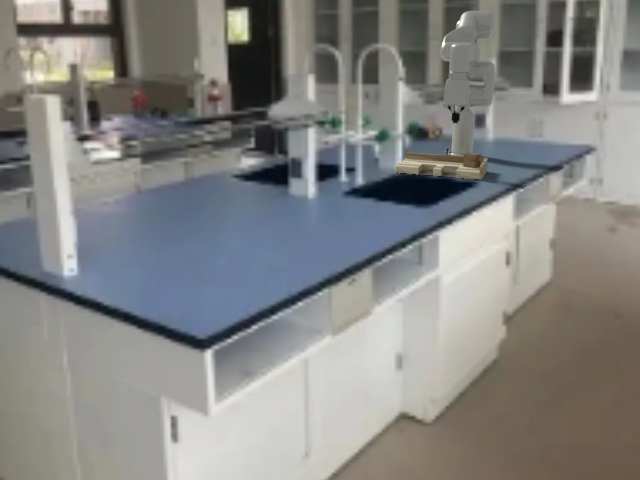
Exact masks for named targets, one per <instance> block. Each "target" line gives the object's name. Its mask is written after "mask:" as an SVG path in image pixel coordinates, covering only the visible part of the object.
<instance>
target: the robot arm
mask: <svg viewBox="0 0 640 480" xmlns="http://www.w3.org/2000/svg"><path fill="white" fill-rule="evenodd" d="M496 20H497V19H496V17H495V15H494V13H493V12H492V11H490V10H468V11H465V12H463V13H462V14H461V16H460V18H459V20H458V21H457V22H456V25H455V29H453V30H452V31H450V32H448V33H447V34H446V35H444V37H443V40H442V43H441V46H440V52H439V53H440V58H441V59H442V61H444V62H449V69H448V78H447V79H446V81H445V86H444V94H443V104H442V107H443V108H445V109H448V110H449V111H450V112H451V113H450V114H451V121H452V138H451V148H450V150H451V152H453V153H451V155H452V154H453V155H452V156H458V155H459V156H461V155H462V156H464V154H466V153H470V152H471V153H476V152H475V151H473V149H474V148H473V146H474V136H475V135H474V133H475V124H476V123H475V121H476V116H475V114H474V112H473V111H472V109H471V108H490V106H492V103H493V99H494V91H495V79H496V67H495V64H494V62H492V61H489V60H488V61H487V60H480V56H481V55H480V53H481V50H480V47H479V46H478V44H477V43H476V42H475V40H490V39H493V38H494V37H495V36H496V34H497V33H496V32H497V21H496ZM471 83H476V85H475V84H471ZM477 83H479V84H483V85H477ZM450 150H448V152H450ZM448 155H449V153H448Z"/></svg>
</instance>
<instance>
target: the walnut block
mask: <svg viewBox="0 0 640 480" xmlns="http://www.w3.org/2000/svg"><path fill="white" fill-rule="evenodd" d="M481 158H482V153H478V152H477V153H476V152H475V153H471V152H470V153H466V154H464V162H463V166H465V167H471V168H476V167H480V165H481Z"/></svg>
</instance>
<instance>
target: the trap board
mask: <svg viewBox="0 0 640 480" xmlns="http://www.w3.org/2000/svg"><path fill="white" fill-rule="evenodd" d="M404 156H405V158H404V159H403V160H402V161H401V162H399V163H397V164H396V165H395V173H396V172H398V173H397V174H400V173H407V174H406V175H412V174H416V175H415V176H425V175H433V176H432V177H437V176H443V177H442V178H449V177H453V178H452V179H462V178H464V179H465V180H474V179H479V180H478V181H482V180H483V178H484V177H485V176H486V174H487V172H486V171H488V160H489V159H488V157H481V165H480V167H476V168H471V167H465V166H463V162H464V156H452V155H446V154H438V153H436V154H434V153H424V152H423V153H419V152H408V151H407V152H405V155H404ZM483 176H484V177H483Z"/></svg>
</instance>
